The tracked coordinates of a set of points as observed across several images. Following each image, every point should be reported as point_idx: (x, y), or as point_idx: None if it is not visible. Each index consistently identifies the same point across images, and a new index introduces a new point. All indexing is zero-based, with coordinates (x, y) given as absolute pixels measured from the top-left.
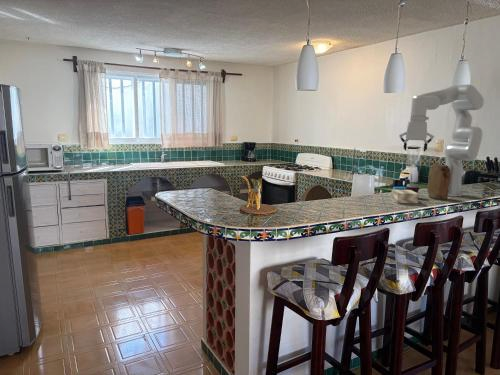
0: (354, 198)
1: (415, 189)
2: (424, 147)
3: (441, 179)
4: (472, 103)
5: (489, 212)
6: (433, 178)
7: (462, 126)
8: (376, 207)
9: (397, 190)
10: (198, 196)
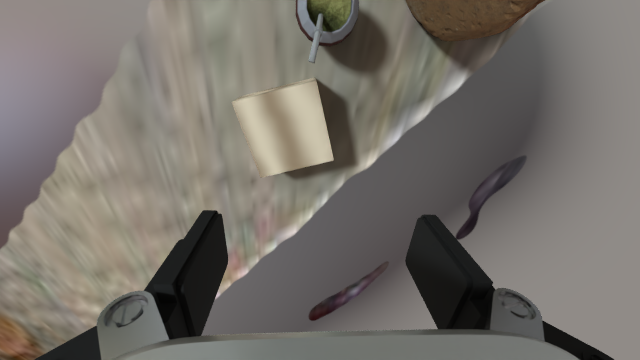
0: (114, 138)
1: (338, 42)
2: (422, 295)
3: (486, 30)
4: None
5: (502, 177)
6: None
7: None
8: None
9: (256, 119)
10: None
